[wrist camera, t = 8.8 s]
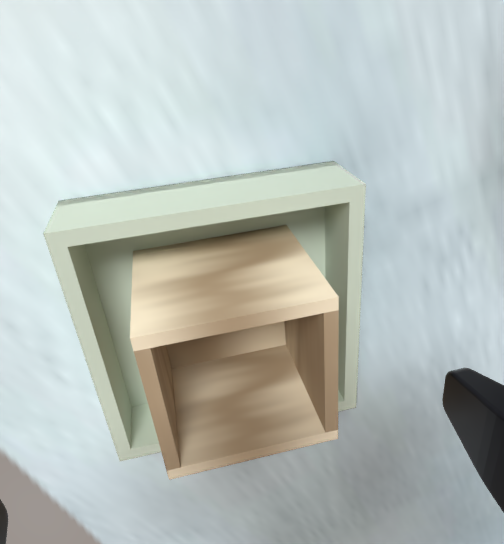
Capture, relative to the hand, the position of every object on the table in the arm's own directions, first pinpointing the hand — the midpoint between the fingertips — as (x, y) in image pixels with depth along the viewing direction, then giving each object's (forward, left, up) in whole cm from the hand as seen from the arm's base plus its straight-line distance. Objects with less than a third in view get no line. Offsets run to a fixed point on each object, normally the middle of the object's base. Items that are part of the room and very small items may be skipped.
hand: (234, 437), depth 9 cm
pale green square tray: (-1, +4, -12) cm, 13 cm away
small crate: (-1, +4, -11) cm, 12 cm away
